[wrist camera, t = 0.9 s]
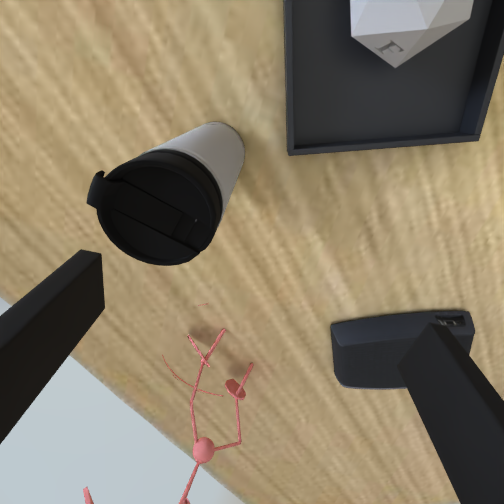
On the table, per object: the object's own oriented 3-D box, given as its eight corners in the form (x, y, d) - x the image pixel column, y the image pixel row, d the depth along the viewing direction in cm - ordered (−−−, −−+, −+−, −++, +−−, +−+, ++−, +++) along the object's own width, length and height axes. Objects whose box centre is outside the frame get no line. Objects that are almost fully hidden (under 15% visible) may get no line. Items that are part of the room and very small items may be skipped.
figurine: (199, 289, 41) (1, 832, 11) (279, 389, 52) (291, 810, 21) (122, 323, 46) (-170, 780, 15) (210, 409, 56) (140, 783, 26)
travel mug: (202, 107, 29) (105, 127, 12) (255, 142, 31) (237, 206, 14) (178, 158, 32) (71, 235, 15) (228, 189, 34) (183, 292, 16)
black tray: (278, -191, 20) (279, -233, 17) (560, -246, 18) (606, -300, 16) (286, 151, 31) (288, 156, 29) (461, 137, 29) (478, 141, 27)
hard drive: (454, 365, 46) (469, 388, 43) (333, 374, 49) (338, 396, 45) (467, 304, 40) (487, 325, 36) (329, 318, 43) (334, 339, 39)
